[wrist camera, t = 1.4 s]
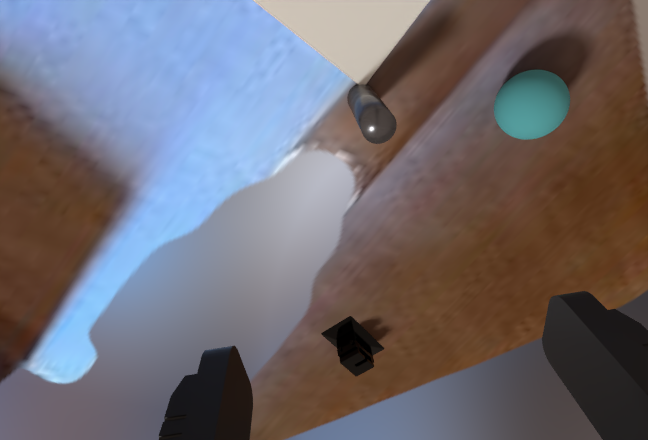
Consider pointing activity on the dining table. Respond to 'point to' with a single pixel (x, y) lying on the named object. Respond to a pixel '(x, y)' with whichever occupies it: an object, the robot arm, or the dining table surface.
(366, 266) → the dining table surface
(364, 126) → the post
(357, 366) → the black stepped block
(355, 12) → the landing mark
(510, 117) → the ball
